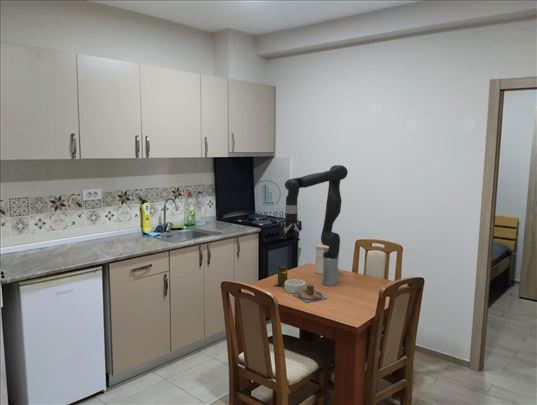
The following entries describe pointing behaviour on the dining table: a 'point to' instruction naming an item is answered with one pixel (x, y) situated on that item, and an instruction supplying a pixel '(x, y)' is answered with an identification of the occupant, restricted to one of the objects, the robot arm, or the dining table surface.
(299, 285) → the bowl
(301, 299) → the mat
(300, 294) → the lid
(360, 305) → the dining table surface
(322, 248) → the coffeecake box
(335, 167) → the robot arm
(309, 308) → the dining table surface
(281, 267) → the condiment
